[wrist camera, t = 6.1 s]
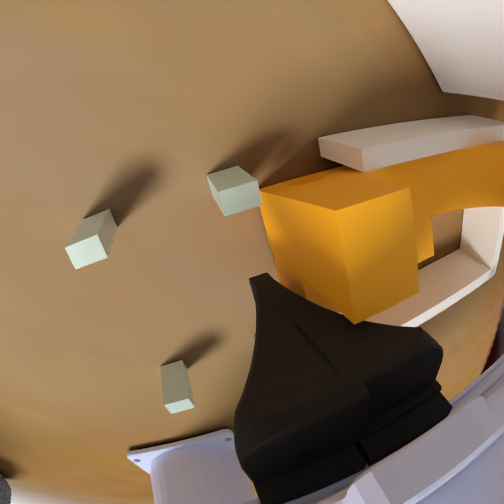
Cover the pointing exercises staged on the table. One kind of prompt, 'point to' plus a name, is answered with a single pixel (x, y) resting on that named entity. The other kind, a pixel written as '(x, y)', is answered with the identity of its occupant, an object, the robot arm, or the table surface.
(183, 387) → the small blocks
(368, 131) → the end holder
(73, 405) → the table surface
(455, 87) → the milk carton
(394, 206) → the pipe clamp
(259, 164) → the table surface
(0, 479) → the koala plush
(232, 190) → the clips
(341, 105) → the table surface
